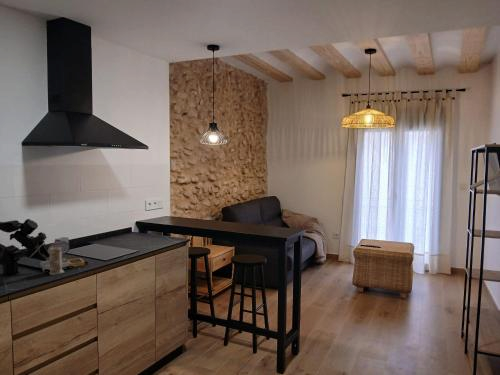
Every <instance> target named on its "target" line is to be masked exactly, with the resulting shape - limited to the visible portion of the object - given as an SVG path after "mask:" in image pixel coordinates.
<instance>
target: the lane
mask: <svg viewBox="0 0 500 375" xmlns="http://www.w3.org/2000/svg"><path fill="white" fill-rule="evenodd" d="M39 263H40V264H39V265H40V266H39V267H41V266H43V267H42V272H45V271H44V270H45V269H50V260H46V261H40V262H39ZM44 265H45V266H44ZM65 266H69V262H67V258H62V267H65Z"/></svg>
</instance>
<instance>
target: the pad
mask: <svg viewBox="0 0 500 375" xmlns="http://www.w3.org/2000/svg"><path fill="white" fill-rule="evenodd" d="M48 273H49V275H50V276H54V275H59V274H64V273H65V271H64V268H63V269H62V271H61V272H58V273H50V272H48Z"/></svg>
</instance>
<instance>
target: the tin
mask: <svg viewBox="0 0 500 375" xmlns="http://www.w3.org/2000/svg"><path fill="white" fill-rule="evenodd" d="M53 247H62V255H65V254H67V253H68V252H69V251H70V249H71V248H70V247H71V246H70V244H68V243H67V242H65V241H61V242H55V241H54V242H51V243H48V244H47V245H45V248H46V250H47V251H48V253H49V254H50V249H51V248H53Z"/></svg>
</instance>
